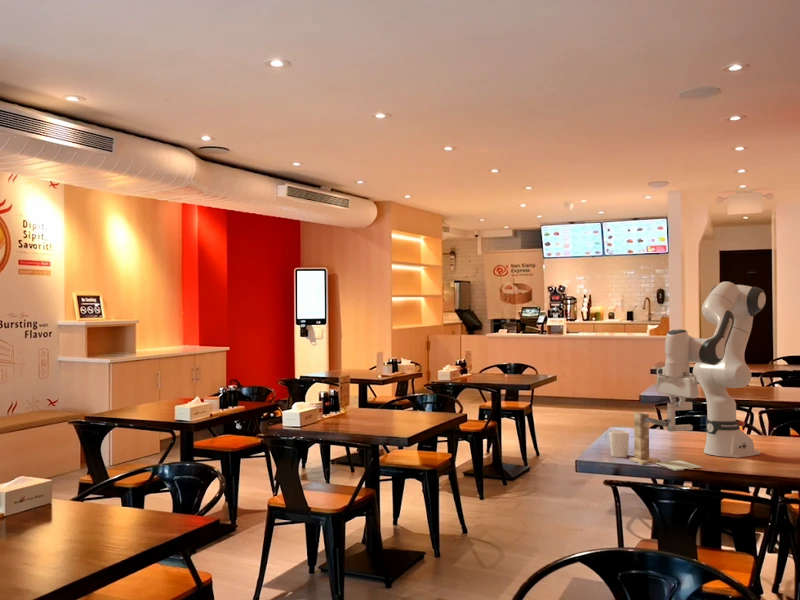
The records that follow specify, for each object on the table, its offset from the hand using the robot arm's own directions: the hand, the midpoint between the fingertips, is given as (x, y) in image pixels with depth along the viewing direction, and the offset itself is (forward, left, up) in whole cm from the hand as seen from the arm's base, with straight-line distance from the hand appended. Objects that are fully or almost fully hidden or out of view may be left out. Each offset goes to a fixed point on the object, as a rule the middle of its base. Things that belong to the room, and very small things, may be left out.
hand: (677, 407), depth 277 cm
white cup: (+10, -24, -23) cm, 35 cm away
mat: (0, 0, -23) cm, 23 cm away
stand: (+7, -6, -23) cm, 25 cm away
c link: (-1, 0, -9) cm, 9 cm away
